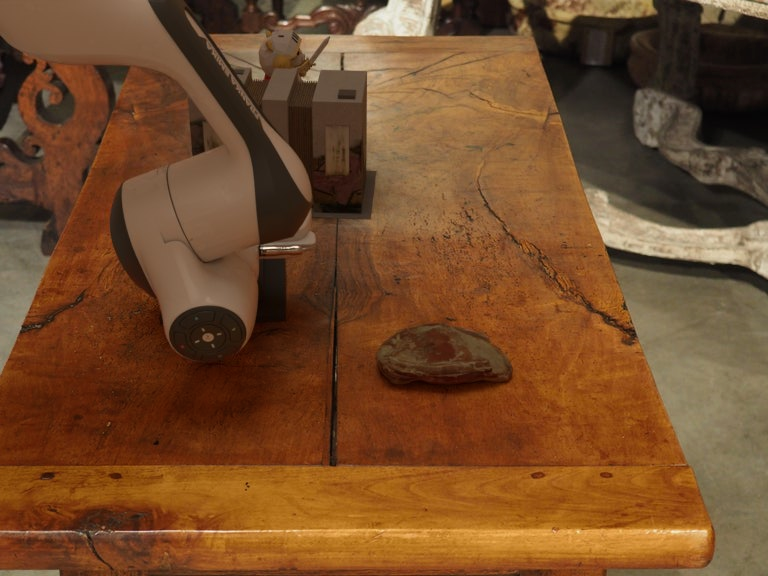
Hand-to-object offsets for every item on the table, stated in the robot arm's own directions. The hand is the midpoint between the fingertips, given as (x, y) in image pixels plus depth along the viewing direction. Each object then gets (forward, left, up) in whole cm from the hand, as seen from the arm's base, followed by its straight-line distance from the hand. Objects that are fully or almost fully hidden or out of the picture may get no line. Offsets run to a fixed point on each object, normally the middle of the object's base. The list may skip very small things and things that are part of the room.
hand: (222, 198), depth 122 cm
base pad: (+1, -1, -11) cm, 11 cm away
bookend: (-12, +22, -11) cm, 28 cm away
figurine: (-30, +41, -11) cm, 52 cm away
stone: (+31, +2, -11) cm, 32 cm away
